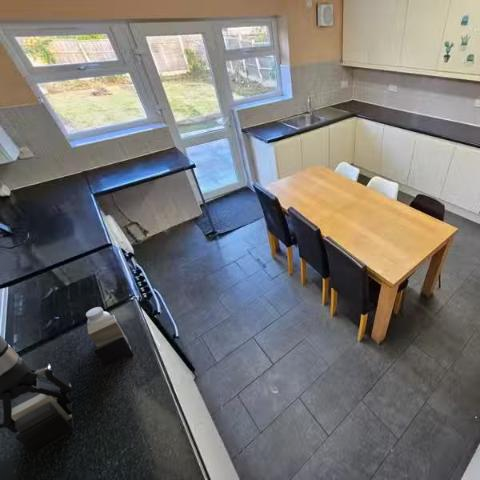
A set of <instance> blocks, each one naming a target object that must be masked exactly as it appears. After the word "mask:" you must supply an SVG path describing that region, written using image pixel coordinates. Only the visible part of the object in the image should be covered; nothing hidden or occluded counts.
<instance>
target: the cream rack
mask: <svg viewBox="0 0 480 480" xmlns="http://www.w3.org/2000/svg"><path fill="white" fill-rule="evenodd" d="M86 329H87V330H86V331H87V334H88V336H89V338H90V340H91V341H92V342H93V344H94V345H95V347H96V348H94V349H93V352H94V353H95V355H96V356H97V358H98V359H99V361H100V362H101V363H102V365H103V367H104V368H106V367H108V366H110V365H112V364H114V363H116V362H118V361H120V360H121V359H124V358H125V357H129V358H130V357H132V356H133V355H134V352H133V349H132V347H131V343H130V340H129V339H128V336H127V334H126V332H125V330H124V328H123V327H122V325H121V323H120V321H119V319H118V318H116V316H115V315H114V314H112V315H111V314H110V316H109V317H107V318H105V319H102V320H100V321H98V322H95V323H93V324H91V325H89V326H88V325H87V326H86Z"/></svg>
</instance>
